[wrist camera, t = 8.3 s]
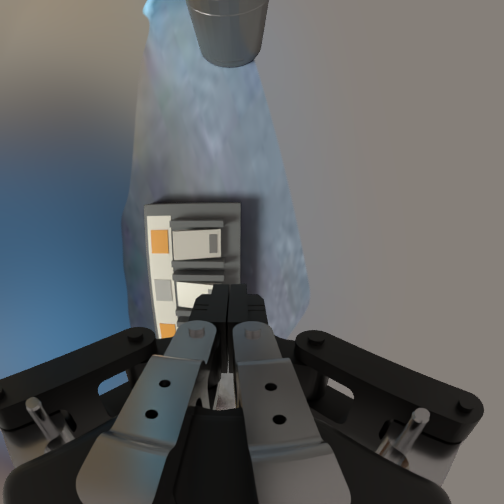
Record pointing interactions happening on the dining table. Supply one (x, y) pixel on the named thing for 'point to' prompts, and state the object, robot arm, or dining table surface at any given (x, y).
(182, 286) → the switch mid
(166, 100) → the dining table surface
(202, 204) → the switch unit
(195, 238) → the switch
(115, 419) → the robot arm
